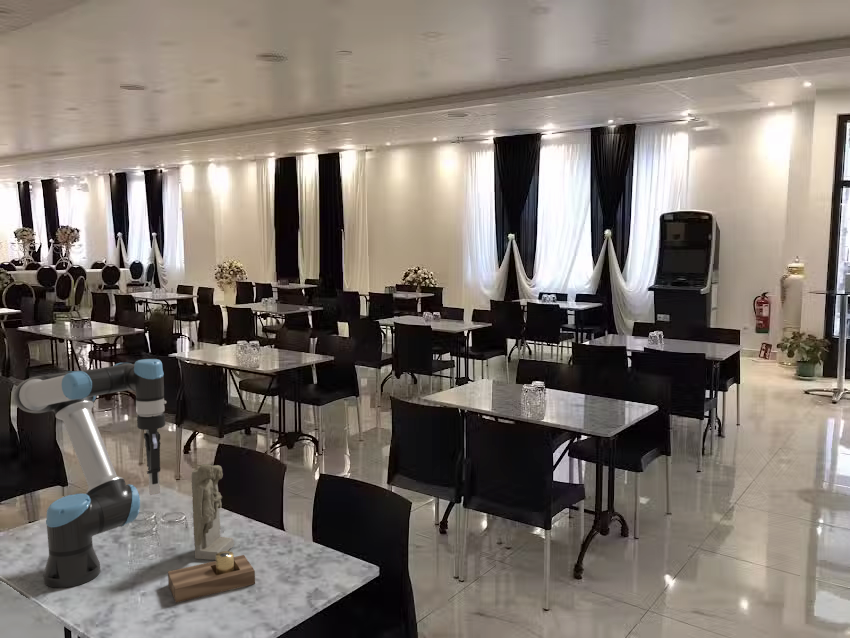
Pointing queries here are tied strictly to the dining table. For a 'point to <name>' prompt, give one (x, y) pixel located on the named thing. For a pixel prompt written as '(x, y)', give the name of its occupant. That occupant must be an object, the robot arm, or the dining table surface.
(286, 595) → the dining table surface
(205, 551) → the sculpture
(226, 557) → the bushing
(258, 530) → the dining table surface
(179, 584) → the block
